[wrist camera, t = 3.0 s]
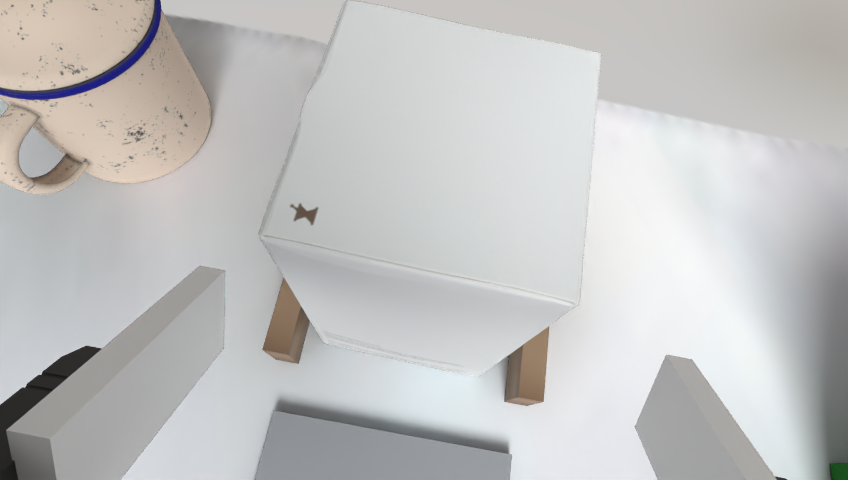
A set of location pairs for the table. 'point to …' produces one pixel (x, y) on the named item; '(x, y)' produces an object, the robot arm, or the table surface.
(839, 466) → the milk carton
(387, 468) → the slate mat
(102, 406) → the robot arm
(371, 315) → the supplement box
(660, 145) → the table surface
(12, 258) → the table surface
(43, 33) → the teacup with lid
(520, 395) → the walnut cradle
